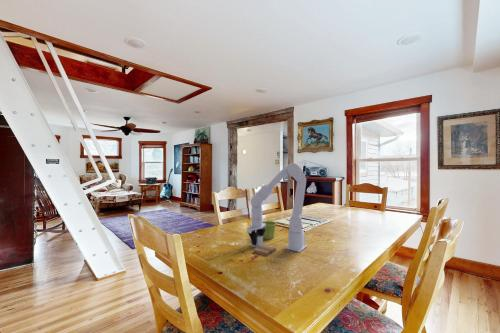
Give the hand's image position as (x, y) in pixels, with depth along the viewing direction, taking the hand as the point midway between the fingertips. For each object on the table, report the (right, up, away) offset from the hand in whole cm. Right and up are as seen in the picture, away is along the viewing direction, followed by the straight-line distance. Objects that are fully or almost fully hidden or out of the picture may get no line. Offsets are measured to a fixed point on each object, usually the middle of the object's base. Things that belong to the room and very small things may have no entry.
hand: (256, 243), depth 122 cm
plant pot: (+7, -1, +13) cm, 15 cm away
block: (0, -1, 0) cm, 1 cm away
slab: (+4, -2, -8) cm, 9 cm away
